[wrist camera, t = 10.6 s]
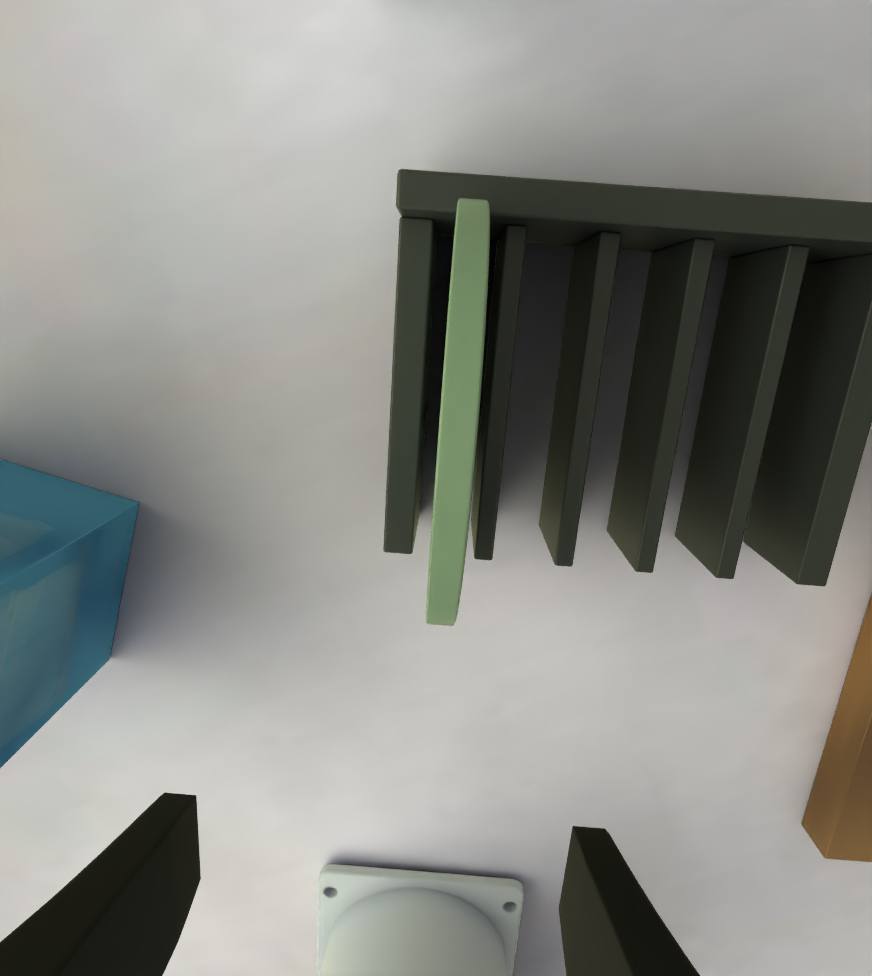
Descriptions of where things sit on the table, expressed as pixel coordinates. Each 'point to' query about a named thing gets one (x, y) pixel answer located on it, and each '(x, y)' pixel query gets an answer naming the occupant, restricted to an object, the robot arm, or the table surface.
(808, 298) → the dish rack
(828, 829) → the cutting board
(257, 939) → the table surface
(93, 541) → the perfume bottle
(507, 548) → the table surface
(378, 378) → the table surface
